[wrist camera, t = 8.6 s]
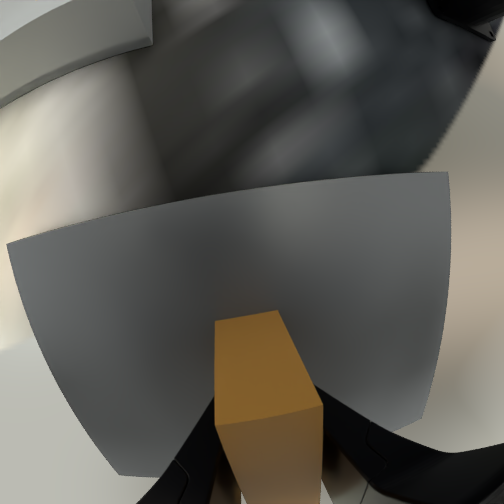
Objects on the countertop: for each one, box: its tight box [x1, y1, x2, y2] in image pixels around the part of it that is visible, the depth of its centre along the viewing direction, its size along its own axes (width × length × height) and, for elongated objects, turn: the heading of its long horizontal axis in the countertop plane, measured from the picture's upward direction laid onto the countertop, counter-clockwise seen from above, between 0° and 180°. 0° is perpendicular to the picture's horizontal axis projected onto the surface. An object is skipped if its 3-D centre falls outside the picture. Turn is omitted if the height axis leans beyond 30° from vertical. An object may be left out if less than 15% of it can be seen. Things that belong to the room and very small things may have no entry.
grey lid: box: [6, 172, 451, 504], centre depth 8 cm, size 17×13×6 cm
